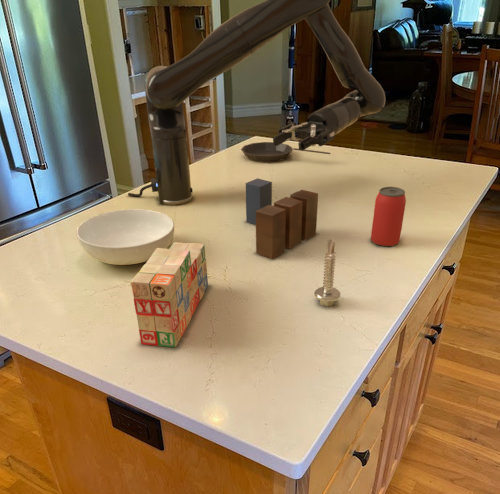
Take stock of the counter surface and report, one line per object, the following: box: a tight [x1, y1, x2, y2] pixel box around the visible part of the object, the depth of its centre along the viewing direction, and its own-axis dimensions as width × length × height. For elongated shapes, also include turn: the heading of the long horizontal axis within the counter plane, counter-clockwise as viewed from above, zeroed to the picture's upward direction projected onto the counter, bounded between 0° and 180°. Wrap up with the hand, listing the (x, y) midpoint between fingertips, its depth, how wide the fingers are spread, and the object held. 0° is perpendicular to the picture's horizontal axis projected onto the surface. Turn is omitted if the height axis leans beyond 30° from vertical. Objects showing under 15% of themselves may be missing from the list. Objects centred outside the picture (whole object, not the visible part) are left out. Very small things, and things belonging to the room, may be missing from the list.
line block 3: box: [289, 189, 319, 241], centre depth 120 cm, size 5×5×10 cm
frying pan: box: [240, 141, 332, 163], centre depth 174 cm, size 18×32×4 cm, turn 62°
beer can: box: [370, 186, 407, 247], centre depth 116 cm, size 7×7×12 cm
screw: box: [313, 239, 342, 307], centre depth 93 cm, size 13×5×5 cm
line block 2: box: [273, 196, 303, 250], centre depth 116 cm, size 5×5×10 cm
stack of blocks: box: [130, 241, 209, 348], centre depth 91 cm, size 21×6×12 cm, turn 169°
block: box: [245, 177, 273, 226], centre depth 127 cm, size 5×5×10 cm
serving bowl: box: [76, 208, 175, 266], centre depth 113 cm, size 21×21×7 cm
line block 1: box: [255, 204, 286, 260], centre depth 112 cm, size 5×5×10 cm
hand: (286, 144), depth 126 cm, fingers open, 8 cm apart
